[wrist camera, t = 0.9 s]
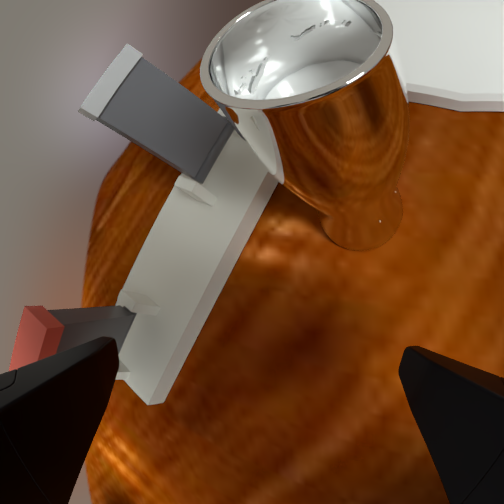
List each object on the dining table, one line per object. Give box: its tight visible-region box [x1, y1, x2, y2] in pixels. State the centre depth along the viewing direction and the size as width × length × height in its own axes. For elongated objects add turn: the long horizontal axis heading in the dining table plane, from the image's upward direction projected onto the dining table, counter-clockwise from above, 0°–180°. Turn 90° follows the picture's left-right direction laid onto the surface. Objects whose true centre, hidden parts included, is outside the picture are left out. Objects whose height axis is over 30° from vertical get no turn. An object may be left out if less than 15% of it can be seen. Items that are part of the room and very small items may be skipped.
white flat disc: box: [374, 0, 504, 112], centre depth 20 cm, size 25×4×25 cm
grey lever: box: [78, 44, 235, 184], centre depth 20 cm, size 2×5×11 cm, turn 149°
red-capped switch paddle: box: [9, 305, 137, 371], centre depth 18 cm, size 2×5×11 cm, turn 149°
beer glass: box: [200, 0, 409, 251], centre depth 15 cm, size 7×7×15 cm
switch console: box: [115, 109, 278, 405], centre depth 24 cm, size 8×24×5 cm, turn 149°
